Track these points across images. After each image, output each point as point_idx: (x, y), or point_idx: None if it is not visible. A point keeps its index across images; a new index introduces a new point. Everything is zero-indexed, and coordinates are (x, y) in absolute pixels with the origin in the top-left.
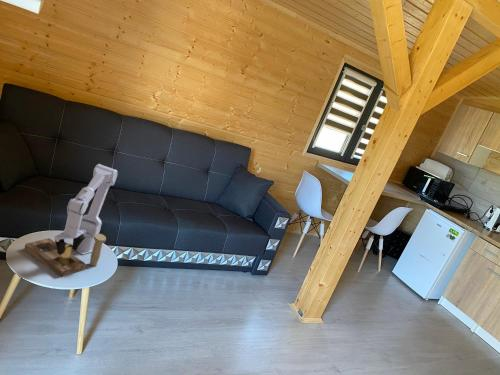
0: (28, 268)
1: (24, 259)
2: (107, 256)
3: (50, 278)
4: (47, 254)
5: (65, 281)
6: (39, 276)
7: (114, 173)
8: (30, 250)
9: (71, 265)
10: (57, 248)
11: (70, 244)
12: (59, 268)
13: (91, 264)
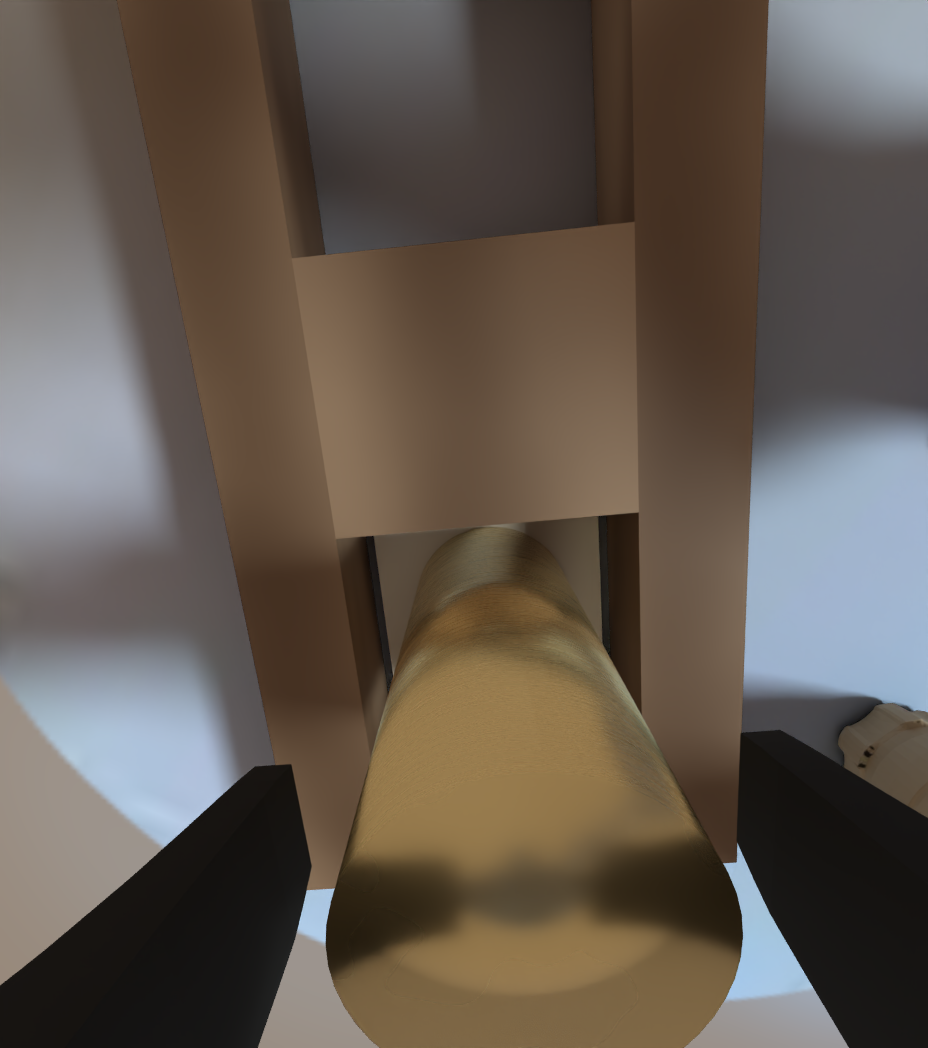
0: (25, 472)
1: (45, 200)
2: None
3: (201, 779)
4: (315, 358)
5: (331, 890)
6: (96, 693)
7: None
8: None
9: None
10: (146, 890)
11: (704, 927)
12: None
13: (850, 764)
